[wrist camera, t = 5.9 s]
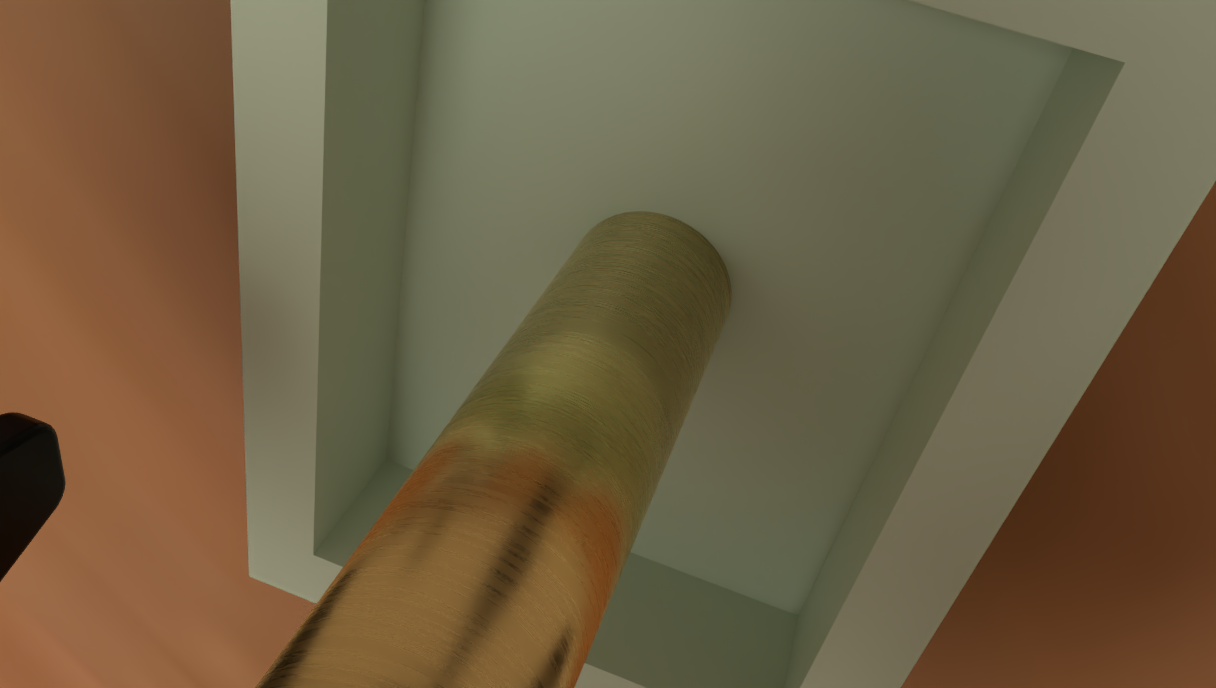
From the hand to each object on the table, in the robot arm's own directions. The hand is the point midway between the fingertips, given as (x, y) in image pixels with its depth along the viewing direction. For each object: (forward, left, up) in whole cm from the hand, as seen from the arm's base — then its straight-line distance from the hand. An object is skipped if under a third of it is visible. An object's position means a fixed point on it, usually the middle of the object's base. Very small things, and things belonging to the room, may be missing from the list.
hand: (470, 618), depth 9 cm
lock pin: (0, 0, -6) cm, 7 cm away
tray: (0, 0, -7) cm, 7 cm away
